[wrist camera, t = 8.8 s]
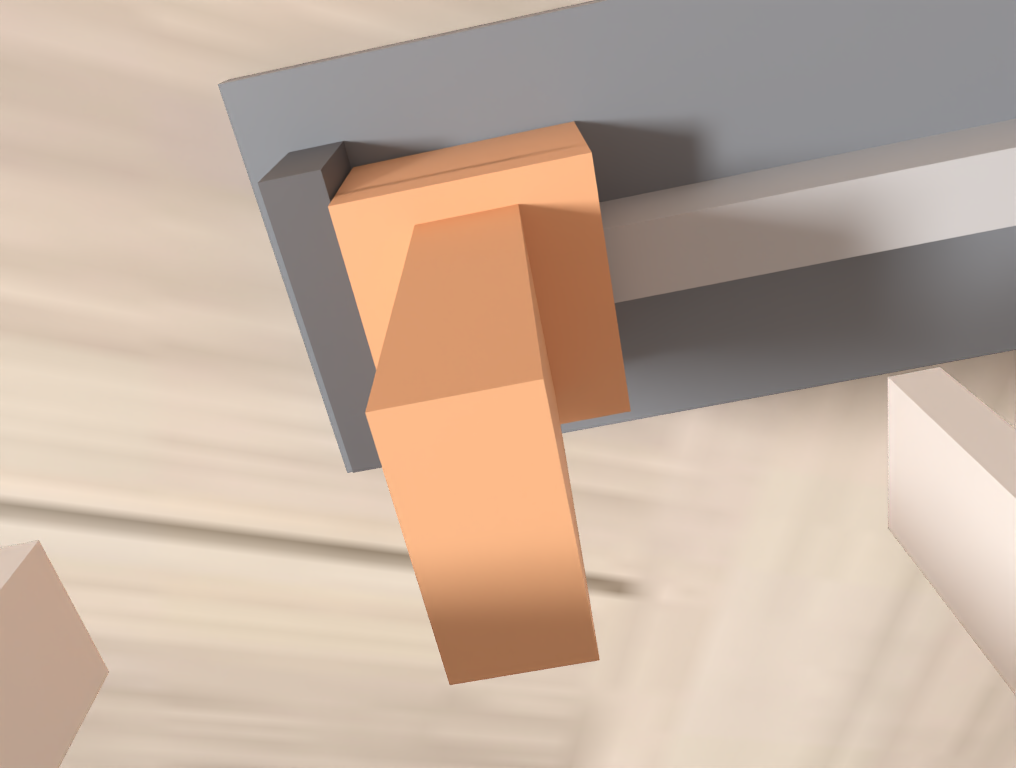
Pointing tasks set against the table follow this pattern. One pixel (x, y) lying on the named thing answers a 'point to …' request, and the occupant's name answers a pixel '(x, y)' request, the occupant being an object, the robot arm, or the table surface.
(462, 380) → the slider
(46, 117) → the table surface
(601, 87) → the rail
